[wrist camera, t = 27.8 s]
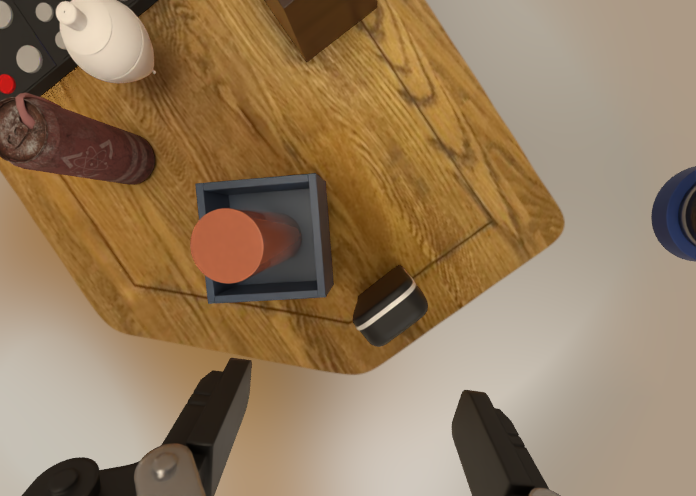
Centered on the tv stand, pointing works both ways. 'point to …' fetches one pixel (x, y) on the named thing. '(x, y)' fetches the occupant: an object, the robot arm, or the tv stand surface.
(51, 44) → the remote control
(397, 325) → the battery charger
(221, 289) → the tub
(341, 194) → the tv stand surface
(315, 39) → the stand
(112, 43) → the spinning top
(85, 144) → the can
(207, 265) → the orange cylinder rod
